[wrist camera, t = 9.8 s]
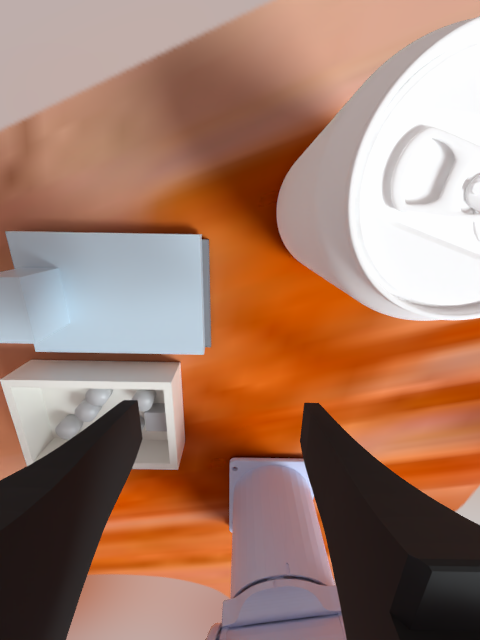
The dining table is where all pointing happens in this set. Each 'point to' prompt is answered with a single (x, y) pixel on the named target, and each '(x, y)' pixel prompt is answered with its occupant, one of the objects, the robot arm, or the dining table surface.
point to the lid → (104, 292)
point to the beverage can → (398, 185)
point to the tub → (96, 405)
